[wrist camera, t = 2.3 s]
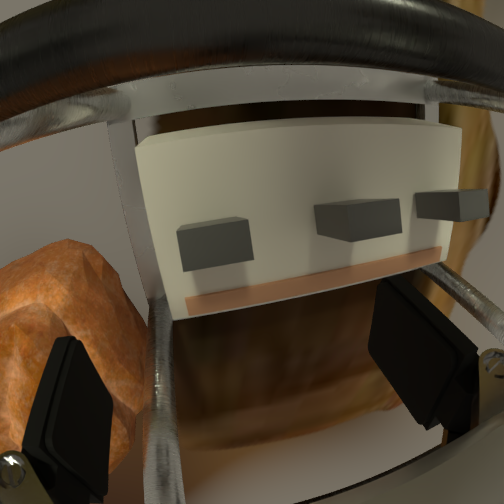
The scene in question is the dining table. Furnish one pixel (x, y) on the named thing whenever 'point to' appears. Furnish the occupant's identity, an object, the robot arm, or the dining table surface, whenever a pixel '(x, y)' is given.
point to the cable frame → (227, 93)
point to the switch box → (293, 202)
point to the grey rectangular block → (214, 243)
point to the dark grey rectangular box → (358, 219)
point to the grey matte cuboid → (452, 204)
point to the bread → (68, 324)
